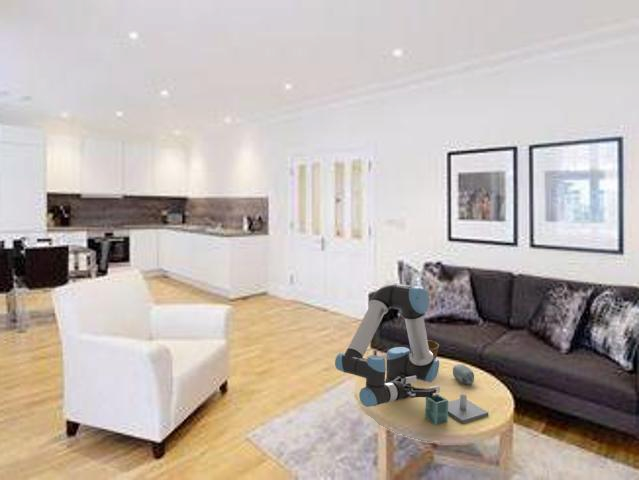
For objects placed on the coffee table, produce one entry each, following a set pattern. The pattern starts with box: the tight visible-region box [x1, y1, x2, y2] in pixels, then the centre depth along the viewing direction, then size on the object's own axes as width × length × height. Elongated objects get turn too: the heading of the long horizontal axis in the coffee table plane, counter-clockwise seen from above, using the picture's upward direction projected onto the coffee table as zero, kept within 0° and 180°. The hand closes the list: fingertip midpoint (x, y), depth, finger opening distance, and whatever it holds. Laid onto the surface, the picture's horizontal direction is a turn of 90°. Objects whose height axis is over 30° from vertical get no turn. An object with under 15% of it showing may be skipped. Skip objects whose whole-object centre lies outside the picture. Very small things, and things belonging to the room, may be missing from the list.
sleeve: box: [424, 393, 449, 426], centre depth 201 cm, size 7×7×10 cm
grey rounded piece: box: [452, 363, 475, 385], centre depth 241 cm, size 14×10×10 cm
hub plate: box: [448, 392, 489, 424], centre depth 208 cm, size 16×16×9 cm
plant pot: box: [427, 339, 440, 359], centre depth 254 cm, size 15×15×16 cm
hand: (427, 383), depth 196 cm, fingers open, 13 cm apart
